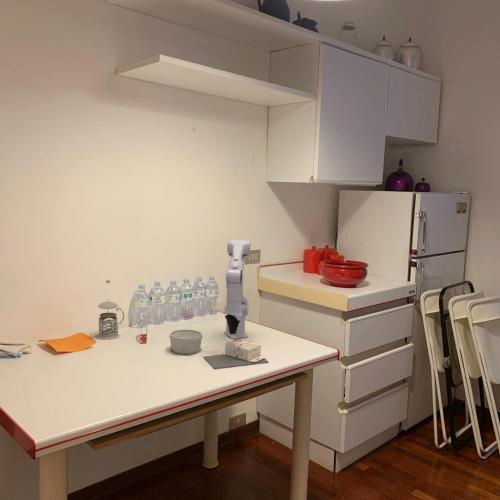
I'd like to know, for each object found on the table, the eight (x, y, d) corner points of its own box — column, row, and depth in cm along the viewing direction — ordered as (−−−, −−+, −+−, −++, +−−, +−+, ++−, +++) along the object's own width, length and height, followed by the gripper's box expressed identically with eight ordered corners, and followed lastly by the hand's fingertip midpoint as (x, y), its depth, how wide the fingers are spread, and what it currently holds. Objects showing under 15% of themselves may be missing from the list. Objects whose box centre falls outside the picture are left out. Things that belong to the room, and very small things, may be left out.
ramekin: (204, 346, 211) (205, 330, 210) (198, 356, 198) (199, 339, 197) (173, 344, 212) (174, 328, 211) (165, 354, 199) (165, 337, 198)
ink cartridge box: (237, 337, 206) (267, 345, 197) (237, 349, 206) (267, 357, 198) (224, 342, 199) (255, 351, 190) (224, 354, 200) (254, 363, 191)
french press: (94, 334, 221) (94, 278, 218) (121, 331, 226) (121, 276, 223) (98, 340, 212) (97, 282, 209) (126, 338, 217) (126, 281, 214)
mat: (203, 357, 197) (203, 356, 197) (254, 351, 206) (254, 350, 206) (214, 369, 185) (214, 368, 185) (268, 362, 194) (268, 361, 194)
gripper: (217, 296, 201) (216, 329, 203) (231, 304, 188) (229, 339, 190) (234, 295, 204) (233, 327, 206) (248, 303, 191) (247, 338, 193)
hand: (232, 333), depth 198 cm, fingers closed
